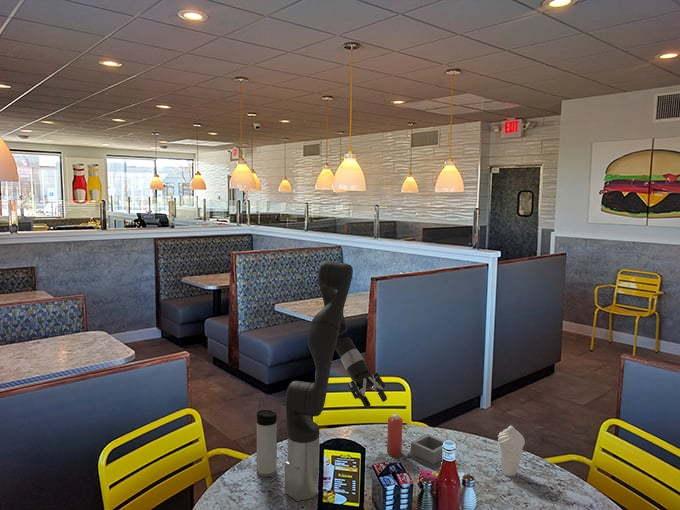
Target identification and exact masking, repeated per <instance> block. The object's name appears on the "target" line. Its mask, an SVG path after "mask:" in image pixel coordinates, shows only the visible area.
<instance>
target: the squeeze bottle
mask: <svg viewBox="0 0 680 510" xmlns="http://www.w3.org/2000/svg"><path fill="white" fill-rule="evenodd" d="M403 421H404V420H403V418H402V417H400V416H399V414H398V413H392V414H391V416H389V417H388V418H387V437H386V438H387V441H386V454H387V453H388V454H389V456H390V455H392V456H391V457H393V456H397V457H400V456H402V453H403V448H402V447H403ZM388 454H387V455H388Z"/></svg>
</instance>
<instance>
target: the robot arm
mask: <svg viewBox="0 0 680 510" xmlns="http://www.w3.org/2000/svg"><path fill="white" fill-rule="evenodd" d="M318 270H319V271H318V276H317V277H318V278H317V279H318V287H319V290H320V294H321V298H322V300H323V301H322V302H323V306H324V307H323V308H322V309H321V310H319V312H317V313H316V315H314V317H313V318H312V320H311V322H310V326H309V330H308V333H307V338H306V340H307V341H306V342H307V346H308V349H309V352H310V354H311V357H312V360H313V362H314V365H315V366H314V367H315V380H314V382H309V381H301V380H293V381H291V382H290V383H289V385H288V386H287V389H286V394H285V410H286V411H285V412H286V413H285V414H286V415H285V416H286V430H287V461H285V463H284V493H285V494H286V495H287V496H289V497H290V498H292V499H293V500H294V501H296V502H299V501H300V502H301V501H305V500H310V499H313V498H315V497H316V496H317V495H318V494H317V491H318V492H319V490H318V471H319V472H320V427H319V425H318V423H316V422H315V421H313V420H312V419H310V418H309V417H319V416H320V415H321V414H322V413H323V410H324V407H325V403H326V400H327V399H326V398H327V392H328V386H329V378H330V372H331V368H332V362H333V357H334V354H335V352H336V353H337V355H338V356H339V358H340V360H341V362H342V364H343V367H344V368H345V370H346V372H347V374H348V375H349V378H350V380H351V381H350V382H349V383H348V385H347V386H348V388H349V389H350V392H351V394H352V396H353V398H354V399H355V400H357V399H359V400H360V402H362V404H363V406H364V407H365V409H369V408H370V407H371V406H372V404H371V402H370V401H369V399H368V397H367V396H366V391H367V390H370V389H371V390H372V391H375V392H377V395H378V397H379V398H380V400H381V401H382V402H383V403H384V402H386V401H387V400H388V398H387V395H386V392H385V391H384V388H386V384H385V382H384V381H383V379H382V378H381V376H380V375H379V373H378V372H375V373H374V374H371V372H370V368H369V366H368V364H367V363H366V360H365V358H364V357H363V356H362V354H361V353H360V351H359V350H358V349H357V347H356V345H355V343H354V342H353V339H351V337H348V336H345V337H339V336H340V335H343V334H345V333H346V332H347V330H348V328H349V326H348V323H347V321H346V318H345V315H344V308H345V304H346V300H347V297H348V295H349V291H350V287H351V285H352V280H353V275H354V270H353V266H352V265H351V264H348V263H346V262H345V263H344V262H340V261H339V262H338V261H333V260H332V261H331V260H324V261H322V262H321V264H320V267H319V269H318ZM335 290H336V291H335ZM308 416H309V417H308Z"/></svg>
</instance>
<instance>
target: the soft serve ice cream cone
mask: <svg viewBox="0 0 680 510" xmlns="http://www.w3.org/2000/svg"><path fill="white" fill-rule="evenodd" d="M497 438H498V439H497V441H498V448H499V454H498V455H499V456H498V457H499V458H500V466H501V472H502V474H503V475H505V476H508V477H515V476H516V475H517V473H518V469H519V466H520V462H521V461H522V453H523V452H522V451H523V449H524V447H525V443H526V441H525V440H526V439H525V437H524V436H523V435H522V434H521V433H520V432H519V431H518V430H517V429H516V428H515V427H514V426H513V425H509V426H508V427H507V428H505V429H503V430H502V431H500V432H499V434H498V435H497Z"/></svg>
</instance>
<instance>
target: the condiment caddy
mask: <svg viewBox="0 0 680 510" xmlns="http://www.w3.org/2000/svg"><path fill="white" fill-rule="evenodd" d="M444 441H445V440H443V439H440V438H438V437H436V436H434V435H431V434H429V433H427V434H425V435H423V436H420V437H419V438H417V439H415V440H413V441H411V442H410V452H408V453H407V456H406V457H408V458H410V459H412V460H414V461H416V462H418V463H420V464H422V465H425V466H427V467H429V468H430V469H433V470H435V469H437V468H439V467H440V466H442V465H441V462H442V445H443V442H444Z"/></svg>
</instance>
